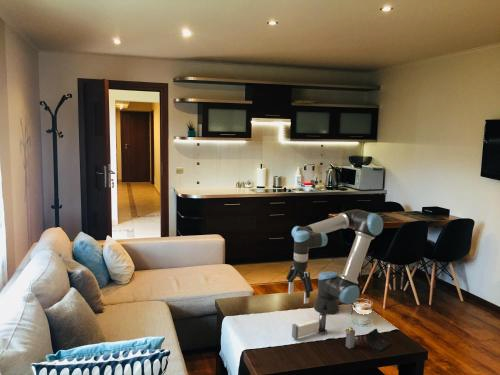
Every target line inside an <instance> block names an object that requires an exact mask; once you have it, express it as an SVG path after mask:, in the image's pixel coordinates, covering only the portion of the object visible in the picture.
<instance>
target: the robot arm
mask: <svg viewBox="0 0 500 375" xmlns="http://www.w3.org/2000/svg"><path fill="white" fill-rule="evenodd" d="M348 228H352V229H355V231H354V232H355V235H356V236H355V238H354V240H353V243H352V247H351V248H350V252H349V255H348V257H347V260H346V263H345V266H344V269H343V270H342V271H343V272H342V273H340V274H339V273H338V272H336V271H333V270H332V271H328V270H327V271H322V272H320V273H319V275H318V279H317V280H318V282H317V296H316V299H315V301H314V304H313V309H314V311H316V312H318V313H319V314H321V313H324V314H326V315H335V314H338V313H339V311H340V305H339V302H340V303H343V304H345V305H351V304H353V303H354V302H356V301H357V300H358V298H359V297H360V293H361V292H360V288H359V287H358V285H359V280H358V277H359V275H360V272H361V269H362V266H363V263H364V261H365V258H366V255H367V253H368V249H369V247H370V243H371V241H372V240H374V239H376V236H378V235H380V234H382V231H383V230H384V229H383V228H384V221H383V218H382V217H381V216H380V215H379V214H376V213H373V212H370V211H365V210H363V209H351V210H347V211H343V212H340V213H339V214H338V215H337V216H334V217H330V218H326V219H324V220H321V221H318V222H315V223H311V224H309V225H305V226H299V225H295V226H294V227H293V228H292V230H291V237H292V238H293V241H294V242H293V243H294V244H293V261H292V262H293V263H292V264H291V265H290V268H289V271H288V273H287V276H286V278H285V279H286V280H287V282H288V295H291V294H294V289H295V288H294V286H295V283H294V280H295V279H297V277H298V278H299V279H300V280H301V282H302V286H303V287H304V294H303V295H304V296H303V297H304V298H303V304H305V305H306V304H309V303H310V297H311V292H314V289H313V284H312V280H311V273H310V272H307V269H308V266H309V265H308V262H309V261H308V260H309V250H310V249H313V248H315V249H316V248H322V247H326V245H327V244H328V235H327V234H328V233H331V232H335V231H337V230H340V229H343V230H344V229H348Z"/></svg>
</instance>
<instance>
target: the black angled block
mask: <svg viewBox="0 0 500 375" xmlns="http://www.w3.org/2000/svg"><path fill="white" fill-rule="evenodd" d="M364 337H365V338H366V340H367V342H368V345H369V348H371V349H373V350H376V351H378V352H379V353H380V352H382V351H384V350H386V349H387V348H388V347H389V346H391V344H392V343H391V342H390V341H387V340H384V338H382V337H381V334H380V332H379V330H378V329H377V328H375V329H373V330H371V331H370V332H368V333H366V334H365V335H364Z"/></svg>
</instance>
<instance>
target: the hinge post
mask: <svg viewBox="0 0 500 375" xmlns="http://www.w3.org/2000/svg"><path fill="white" fill-rule="evenodd" d="M318 321H319V329H318V332H317V333H316V334H318V335H321V336H326V335H327V334H328V330H327V329H326V327H327V326H326V324H327V314H324V313H319V318H318ZM325 334H326V335H325Z"/></svg>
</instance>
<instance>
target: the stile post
mask: <svg viewBox="0 0 500 375" xmlns="http://www.w3.org/2000/svg"><path fill="white" fill-rule="evenodd" d="M344 332H346V334H345V335H346V336H345V347H346V348H348V349H354V348H355V340H356V330H354V328H353V327H351V326H350V327H349V328H348V329H347V328H346V329H344Z"/></svg>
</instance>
